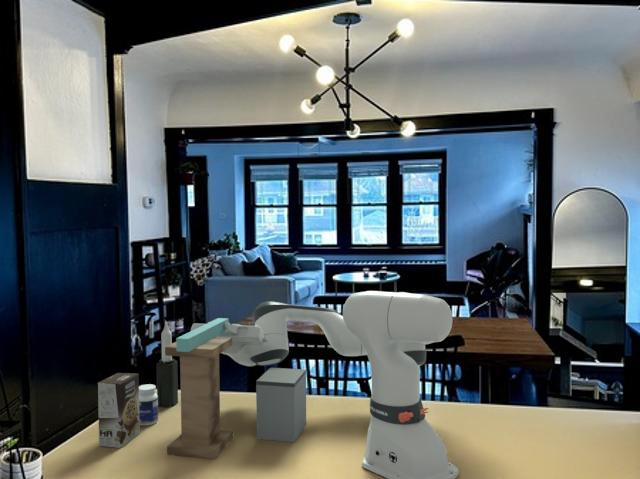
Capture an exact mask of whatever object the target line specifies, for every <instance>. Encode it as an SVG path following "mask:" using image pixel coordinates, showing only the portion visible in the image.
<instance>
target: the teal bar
mask: <svg viewBox="0 0 640 479" xmlns="http://www.w3.org/2000/svg"><path fill="white" fill-rule="evenodd" d="M229 320H230V319H229V318H227V317H226V318H225V317H224V318H223V317H218V318H215V319H213V320H211V321H208V322H209V323H208V322H207V323H204V324H205V325H203V326H201V327H199V328H197V329H195V330H192V331H191V330H190V331H189V332H186V333H185V334H182V335H181V336H178V337H176V339H175V340H176V341H175V342H176V350H177V351H181V352H189V351H191V350H193V349H195V348H197V347H198V346H200V345H202V344H204V343H205V342H207V341H209V340H211V339H213V338H214V337H216V336H218V335H220V334H222V333H223V332H225V330H224V329H223V326H224V325H223V324H224V323H230V321H229Z"/></svg>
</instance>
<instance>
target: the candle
mask: <svg viewBox="0 0 640 479" xmlns="http://www.w3.org/2000/svg"><path fill="white" fill-rule="evenodd" d="M160 337H161V359H159V360H158V362H157V363H156V394H157V395H158V408H160V407H163V408H173V407H174V406H176V405H177V404H178V403H179V391H178V390H179V384H178V383H179V380H178V378H179V377H178V360H176V359H175V358H173V356H166V355H165V347H166V346H168V345H170V344H172V343H173V342H172V331H171V330H170V327H169V325H168V322H167V321H165V322H164V328H163V330H162V331H161V336H160Z"/></svg>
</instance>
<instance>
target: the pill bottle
mask: <svg viewBox="0 0 640 479" xmlns="http://www.w3.org/2000/svg"><path fill="white" fill-rule="evenodd" d="M139 420H140V426H143V427H144V426H151V425H155V424H157V422H158V421H159V407H158V395H157V385H155V384H151V383H149V384H141V385H139Z"/></svg>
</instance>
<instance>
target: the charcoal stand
mask: <svg viewBox="0 0 640 479" xmlns="http://www.w3.org/2000/svg"><path fill="white" fill-rule="evenodd" d="M255 384H256V386H255V390H256V391H255V392H256V393H255V395H256V398H255V399H256V400H255V401H256V405H255V406H256V407H255V408H256V440H266V441H275V442H276V441H277V442H289V443H296V441H297V439H298V438H299V437H300V435H301V433H302V431H303V429H305V427H306V425H307V370H306V369H300V368H299V369H298V368H283V367H282V368H281V367H270V368H268V369H267V370H266V371H265V372H264V373H263V374H261V375H260V377H258V379H257V380H256V381H255Z"/></svg>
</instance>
